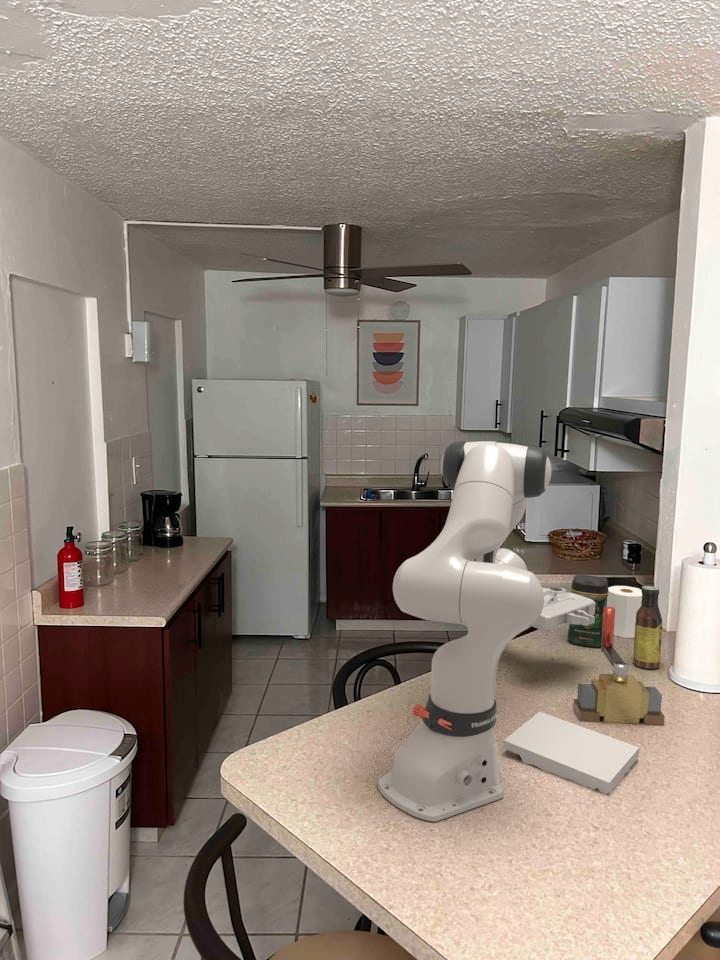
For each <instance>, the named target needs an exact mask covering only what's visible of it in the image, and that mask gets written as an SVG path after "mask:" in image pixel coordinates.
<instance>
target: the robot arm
mask: <svg viewBox="0 0 720 960" xmlns="http://www.w3.org/2000/svg"><path fill="white" fill-rule="evenodd" d="M440 472H441V476H442V479H443V482H444V484H445V486H447V488H449V489H451V490H453V494H452V499H451V502H450V507H449V511H448V514H447V517H446V520H445V524H444V526H443V528H442V530H441V532H440V533H439V535H438V536H437V537H436V538H435V540H434V541H433V542H431V543H430V545H428V546H427V547H426V548H425V549H424V550H422V551H420V552H419V553H418V554H416V555H414V556H412V557H410V558H408V559H406V560H405V561H403V562H402V563H401V564H400V566H399V567H398V568H397V570H396V572H395V575H394V577H393V582H392V594H393V598H394V601H395V604H396V605H397V607H398V608H399V609H400V611H402V612H403V613H405V614H408V615H410V616H414V617H416V618H418V619H421V620H425V621H431V622H439V623H440V622H441V623H446V624H455V625H461V626H464V627H466V628H467V634H466V635H464V636H462V637H459V638H457V639H453V640H451V641H450V640H449V641H448V642H446V643H443V645H441V646H439V648H437V650H436V651H435V652H434V654H433V656H432V659H431V673H430V674H431V677H430V678H431V680H430V682H431V683H430V694H429V695H428V699H427V701H426V704H425V706H422V705H421V704H419V703H417V704H415V705H414V706H413V708H412V715H413V716H414V717H416V718H417V717H418V718H419V719H420V720H421V721H420V723H419V724H418V726H416V728H415V729H414V730H413V731H412V732H411V734H410V735H409V736H408V737H407V738H406V740H405V741H404V742H403V743H402V744H401V745H400V747H398V749H397V751H395V754H394V756H393V757H394V758H393V761H392V762H393V763H392V769H391V770H389V771H388V772H387V773H385V774H384V775H382V776H381V777H380V778H379V779H377V780H378V782H377V788H378V790H379V792H380V794H381V795H382V796H383V797H384V798H385V799H386V800H388V802H389V803H391V804H392V805H394V806H395V807H397V808H398V809H400V810H402V811H403V812H405V813H407V814H409V815H411V816H413V817H415V818H418V819H421V820H425V821H428V822H438V821H441V820H444V819H447V818H450V817H452V816H456V815H458V814H462V813H465V812H467V811H469V810H472V809H476V808H478V807H481V806H483V805H487V804H490V803H492V802H495V801H498V800H500V799H503V798H504V788H503V785H502V784H501V773H500V765H499V762H500V761H499V750H498V749H499V748H498V743H497V739H496V733H495V725H496V723H497V715H498V710H497V700H496V699H495V695H496V694H495V693H496V692H495V691H496V680H497V672H498V667H499V662H500V659H501V656H502V654H503V652H504V650H505V649H506V647H507V646H508V644H510V642H511V641H512V640H513V639H514V638H515V637H517V636H518V635H520V634H521V633H522V632H525V631H526V630H528V629H529V628H531V627H533V628H535V629H537V630H540V631H543V632H551V631H554V630H557V629H559V628H562V627H564V626H569V624H579V625H580V624H581V625H584V626H588V625H590V624H593V623H594V622H595V617H594V616H593V615H594V614H595V602H594V601H593V600H592V599H590V598H587V597H584V596H581V595H577V594H574V593H571V592H567V589H566V588H562V587H554V588H546V587H542V584H541V581H540V580H539V578H538V577H537V575H536V574H534V572H532V571H530V570H529V568H528V564H527V561H526V558H525V557H524V556H523V554H521V553H520V552H518V551H517V550H515V549H512V548H507V547H501V546H502V545H503V543H504V542H505V541H506V539H507V538H508V536H509V535H510V534H511V533H512V531H513V530H514V529H515V528H516V526H517V525H518V524H519V523H520V522H521V521H522V519H523V517H524V514H525V511H526V509H527V505H528V499H531V498H537V497H540V496H541V495H543V494H544V493H545V492H546V488H547V487H548V486H549V484H550V481H551V477H552V464H551V461H550V458H549V455H548V453H547V452H546V451H545V450H544V449H543V448H541V447H538V446H536V445H535V446H534V445H529V444H528V446H526V445H521V444H514V443H508V442H498V441H491V440H489V441H485V440H483V441H482V440H481V441H467V440H459V441H455V442H452V443H450V444H449V445H448V446H447V447H446V449H445V451H444V453H443V456H442V458H441V462H440Z"/></svg>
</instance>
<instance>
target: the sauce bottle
mask: <svg viewBox="0 0 720 960" xmlns="http://www.w3.org/2000/svg"><path fill="white" fill-rule="evenodd" d="M641 590H642V591H641V592H642V602H641V604H642V605H641V607H640V608H639V609H638V611H637V613H636V623H635V636H634V639H633V655H632V656H633V657H632V658H633V663H634V665H635V666H636V667H638V668H642V669H645V670H655V669H657V668H659V667H660V661H661V651H662V650H661V649H662V638H663V637H662V636H663V632H662V631H663V618H662V615H661V611H660V607H659V595H660V588H659V587H656V586H651V585H644V586H641Z"/></svg>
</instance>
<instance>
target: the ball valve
mask: <svg viewBox="0 0 720 960" xmlns="http://www.w3.org/2000/svg"><path fill="white" fill-rule="evenodd" d="M662 697H663V695H662V694H661V693H660V691H659V690H658V689H657V687H656V686H644V684H643V683H642V682H641V681H639V680H637V678H636V677H635V676H634V675H633V674H628V681H626V682H619V681H616V680H614V679H613V673H598V678H597V679H596V678H591V682H590V683H578V684H577V698H573V705H572V706H573V707H572V708H573V710H574V713H575V715H576V717H577V719H578V720H579V722H590V723H591V722H594V723H595V722H597V723H599V722H600V719H601V720H602V721H603V723H608V724H609V723H613V724H614V723H615V724H629V725H630V724H631V725H632V724H633V725H639V724H640V720H641V722H642V723H643V725H648V726H649V725H650V726H651V725H652V726H665V718H666V717H665V715H664V713H663V712H662V699H663V698H662Z"/></svg>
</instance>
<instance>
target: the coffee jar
mask: <svg viewBox="0 0 720 960" xmlns="http://www.w3.org/2000/svg"><path fill="white" fill-rule="evenodd" d="M608 587H609V581H608V578H607V577H603V576H602V577H601V576H595V575H587V574H580V573H576V574H575V575H574V576H573V579H572V583H571V587H570V591H571V592H570V593H574V594H577V595H581V596H584V597H587V598H590V599H592V600H593V601H594V602H595V614H594V615H593V616H594V617H595V622H594V623H593V624H590V625H588V626H584V625H581V624H580V625H579V624H568V629H567V630H568V632H567V640H568V642H570V643H571V644H575V645H578V646H584V647H590V648H591V647H592V648H599V647H600V648H601V644H602V629H603V614H604V607H606V602H607V597H608V594H609V590H608Z"/></svg>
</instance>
